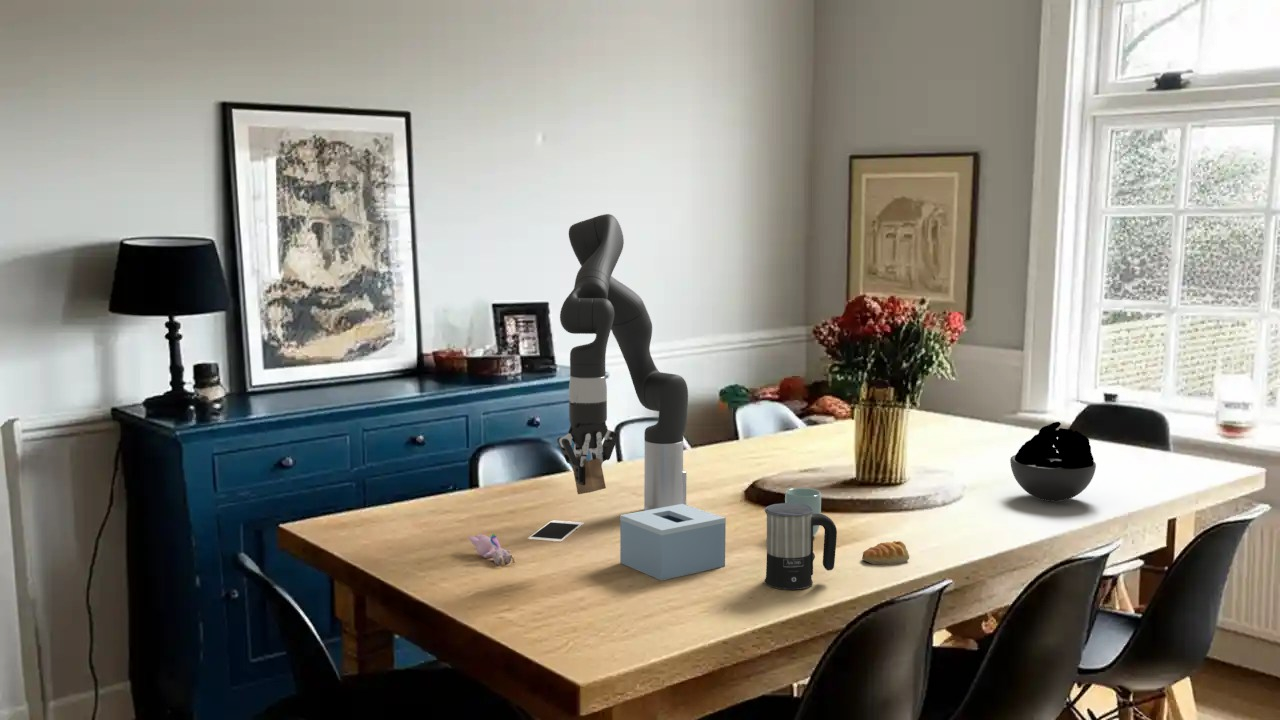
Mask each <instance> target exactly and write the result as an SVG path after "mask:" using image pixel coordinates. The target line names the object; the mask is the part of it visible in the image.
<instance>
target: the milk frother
mask: <svg viewBox="0 0 1280 720" xmlns="http://www.w3.org/2000/svg"><path fill="white" fill-rule="evenodd" d="M812 511H813V508H812V507H810V506H807V505H802V504H796V503H785V502H781V503H774V504H770V505H768V506H766V507H765V509H764V513H765V514H766V566H765V567H766V569H765V579H764V584H765V585H767V586H768V587H771V588H773V589H777V590H785V591H788V590H791V591H793V590H794V591H797V590H803V589H807V588H810V587H811V586H812V585H813V583H814V582H813V580H812V579H813V578H812V576H813V575H814V561H815V558H816V556H815V553H814V536H813V526H815V525H819V527H822V528H823V529H824V533H823V534H824V537H823V552H822V553H823V554H822V566H823V568H824V569H825V570H826V571H832V570H833V569H834V568H835V560H836V548H837V539H838V538H837V536H838V535H837V534H838V531H837V527H836V526H837V525H836V524H835V523H834V521H833V520H832V519H831V518H830V517H829V516H828V515H826V514H823V513H821V514H812V513H811V512H812Z"/></svg>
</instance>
